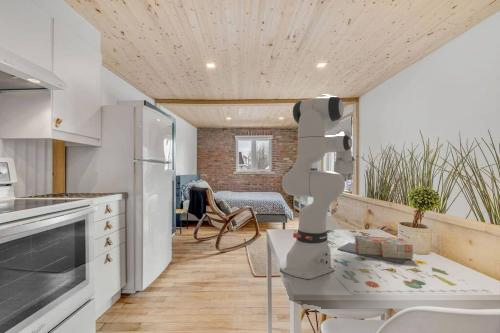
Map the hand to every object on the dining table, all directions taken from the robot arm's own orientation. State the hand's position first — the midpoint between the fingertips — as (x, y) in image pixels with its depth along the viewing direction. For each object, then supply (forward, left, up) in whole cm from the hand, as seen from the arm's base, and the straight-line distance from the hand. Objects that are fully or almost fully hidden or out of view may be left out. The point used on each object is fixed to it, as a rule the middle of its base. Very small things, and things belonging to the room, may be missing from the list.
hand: (344, 181), depth 147 cm
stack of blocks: (-12, -22, -30) cm, 39 cm away
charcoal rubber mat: (-18, -21, -33) cm, 43 cm away
